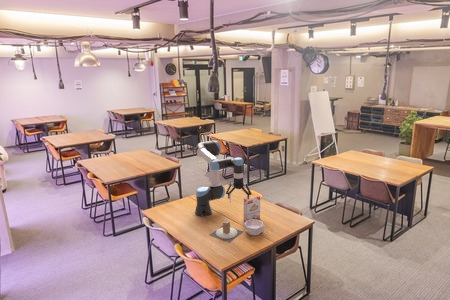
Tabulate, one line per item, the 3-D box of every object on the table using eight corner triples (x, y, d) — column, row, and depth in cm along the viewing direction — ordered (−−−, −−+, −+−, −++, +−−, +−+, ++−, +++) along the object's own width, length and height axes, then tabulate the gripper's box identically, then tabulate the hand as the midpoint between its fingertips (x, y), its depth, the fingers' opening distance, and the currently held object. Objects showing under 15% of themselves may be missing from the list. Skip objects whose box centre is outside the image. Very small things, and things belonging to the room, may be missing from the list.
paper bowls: (263, 238, 238) (263, 228, 236) (243, 236, 241) (243, 227, 239) (264, 228, 253) (264, 219, 251) (245, 227, 256) (245, 218, 254)
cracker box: (247, 223, 262) (247, 200, 257) (243, 220, 267) (243, 197, 262) (260, 218, 270) (260, 196, 264) (256, 216, 275) (256, 194, 269)
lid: (211, 234, 244) (211, 223, 242) (224, 226, 257) (224, 215, 255) (229, 241, 234) (228, 229, 232) (241, 231, 248) (241, 220, 245)
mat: (208, 235, 244) (208, 235, 244) (223, 225, 259) (223, 224, 259) (229, 243, 232) (229, 242, 232) (244, 232, 248) (244, 231, 248)
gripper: (221, 178, 241) (222, 203, 246) (254, 179, 237) (254, 205, 242) (223, 175, 248) (223, 199, 253) (254, 176, 244) (254, 201, 250)
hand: (238, 202), depth 248 cm, fingers open, 13 cm apart
